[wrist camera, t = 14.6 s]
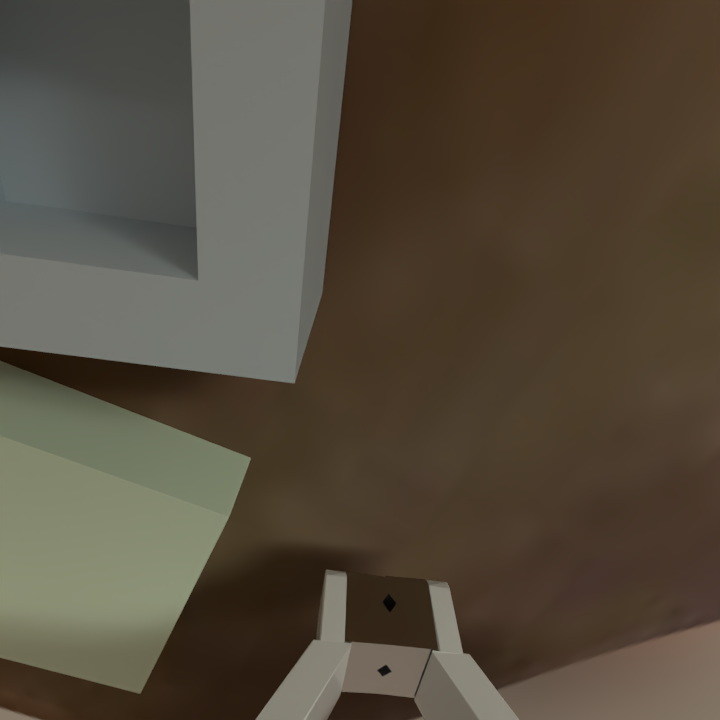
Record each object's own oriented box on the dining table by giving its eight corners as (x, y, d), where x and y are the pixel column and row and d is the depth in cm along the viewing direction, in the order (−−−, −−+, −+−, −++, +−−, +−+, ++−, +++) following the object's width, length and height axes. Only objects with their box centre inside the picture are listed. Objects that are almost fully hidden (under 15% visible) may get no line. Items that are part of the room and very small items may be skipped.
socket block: (368, -155, 6) (373, -611, 2) (322, 293, 9) (294, 383, 5) (-123, -251, 6) (-952, -950, 2) (-4, 248, 9) (-266, 313, 5)
